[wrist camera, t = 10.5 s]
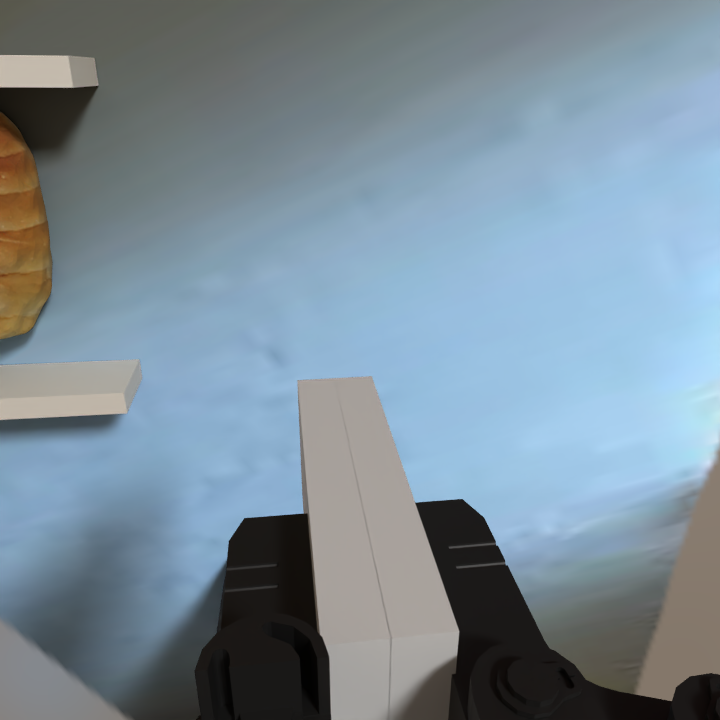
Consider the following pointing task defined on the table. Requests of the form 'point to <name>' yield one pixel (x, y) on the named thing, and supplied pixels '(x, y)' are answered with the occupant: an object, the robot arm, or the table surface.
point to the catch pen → (68, 379)
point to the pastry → (21, 236)
